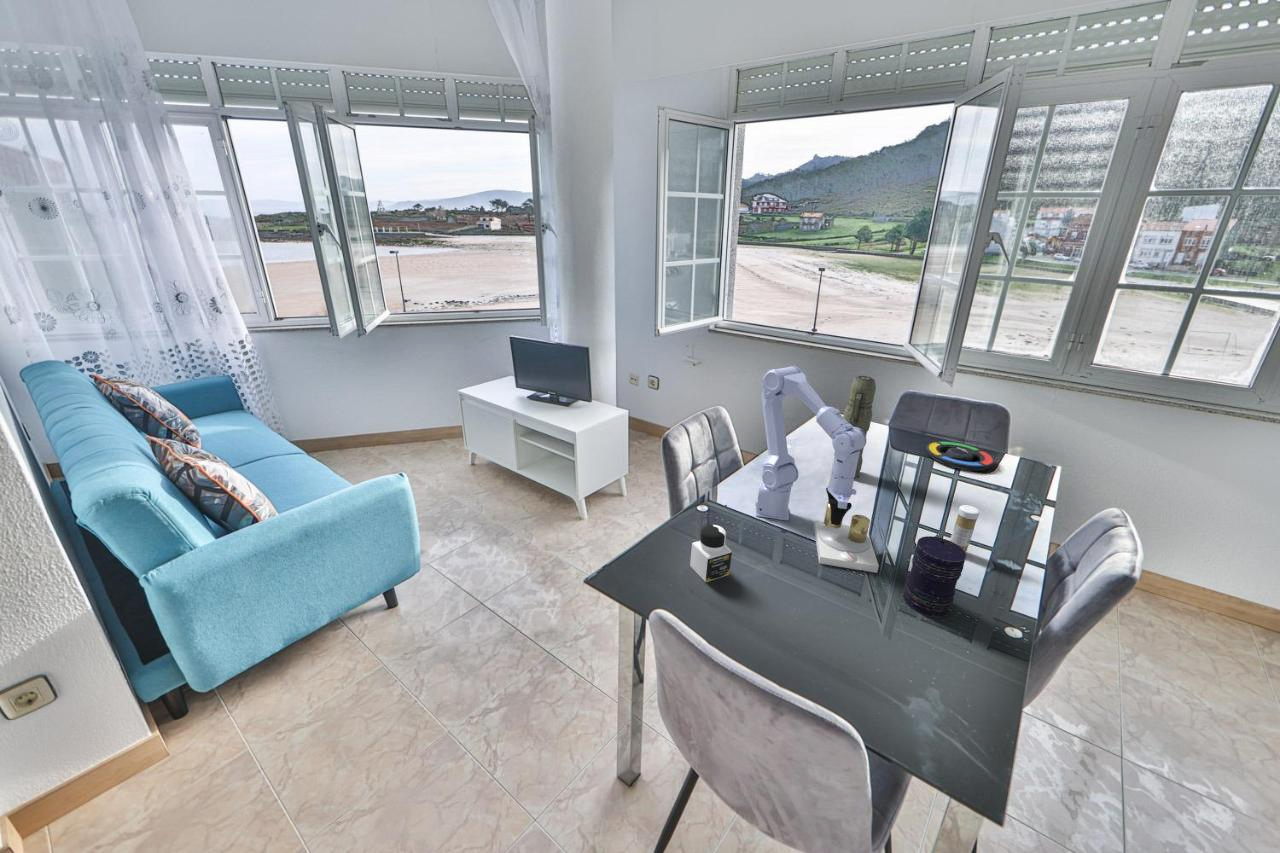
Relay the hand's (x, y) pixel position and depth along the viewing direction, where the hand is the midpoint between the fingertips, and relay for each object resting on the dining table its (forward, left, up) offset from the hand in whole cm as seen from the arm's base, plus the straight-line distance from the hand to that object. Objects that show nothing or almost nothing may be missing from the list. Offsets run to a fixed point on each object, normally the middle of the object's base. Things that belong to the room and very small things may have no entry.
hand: (834, 519), depth 140 cm
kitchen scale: (+3, -1, -8) cm, 9 cm away
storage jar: (+19, -19, -8) cm, 29 cm away
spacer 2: (+7, 0, -5) cm, 8 cm away
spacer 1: (0, 0, -2) cm, 2 cm away
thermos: (+10, +49, -8) cm, 50 cm away
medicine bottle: (-31, -21, -8) cm, 38 cm away
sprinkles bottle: (+33, +6, -8) cm, 35 cm away
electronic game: (+54, +75, -8) cm, 93 cm away
